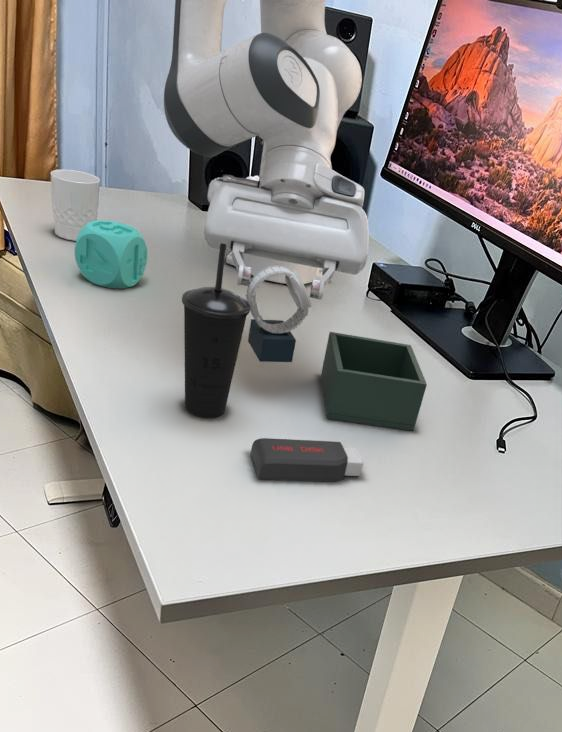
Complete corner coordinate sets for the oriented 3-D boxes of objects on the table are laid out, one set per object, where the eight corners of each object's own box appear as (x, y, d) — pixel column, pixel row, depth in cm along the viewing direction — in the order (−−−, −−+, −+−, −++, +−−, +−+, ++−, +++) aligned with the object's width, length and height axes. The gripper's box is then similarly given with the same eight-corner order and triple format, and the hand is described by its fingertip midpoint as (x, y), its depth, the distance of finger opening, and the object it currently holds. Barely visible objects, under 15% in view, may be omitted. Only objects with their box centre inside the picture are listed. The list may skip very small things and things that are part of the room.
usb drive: (250, 454, 87) (253, 433, 85) (349, 458, 91) (354, 438, 89) (258, 479, 83) (261, 458, 81) (361, 482, 87) (367, 461, 85)
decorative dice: (118, 292, 118) (120, 240, 113) (73, 277, 119) (74, 225, 115) (146, 281, 124) (149, 231, 120) (103, 266, 126) (105, 217, 121)
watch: (306, 362, 98) (322, 280, 92) (246, 361, 95) (258, 276, 89) (292, 342, 102) (307, 262, 96) (234, 340, 99) (245, 257, 93)
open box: (320, 376, 108) (329, 331, 104) (399, 388, 110) (410, 344, 107) (327, 418, 98) (337, 370, 94) (413, 431, 100) (427, 384, 96)
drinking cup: (166, 393, 94) (180, 229, 83) (226, 393, 98) (247, 236, 87) (180, 424, 89) (196, 253, 78) (243, 423, 92) (267, 259, 81)
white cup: (63, 225, 139) (63, 166, 133) (105, 235, 139) (107, 178, 133) (42, 234, 132) (42, 174, 126) (87, 246, 132) (88, 185, 126)
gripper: (210, 156, 91) (193, 261, 89) (377, 190, 95) (365, 293, 92) (211, 186, 98) (195, 286, 95) (367, 218, 101) (356, 315, 98)
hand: (280, 290), depth 93 cm, fingers closed on watch, 7 cm apart
